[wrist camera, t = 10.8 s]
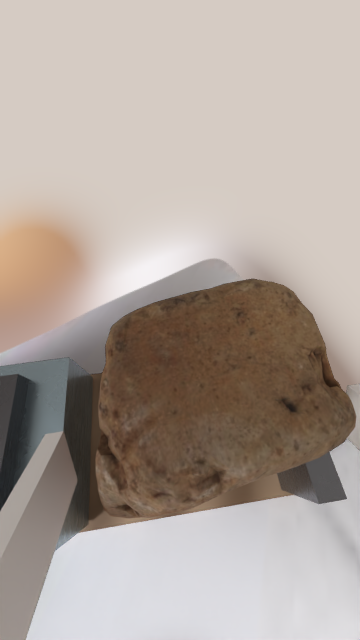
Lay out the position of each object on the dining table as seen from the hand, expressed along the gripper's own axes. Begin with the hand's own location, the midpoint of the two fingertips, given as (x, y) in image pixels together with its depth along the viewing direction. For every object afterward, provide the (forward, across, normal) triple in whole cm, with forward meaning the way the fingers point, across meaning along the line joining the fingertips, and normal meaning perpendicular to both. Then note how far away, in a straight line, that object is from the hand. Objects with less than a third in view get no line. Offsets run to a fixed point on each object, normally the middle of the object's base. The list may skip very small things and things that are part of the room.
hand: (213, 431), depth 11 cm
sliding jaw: (+12, -14, -9) cm, 21 cm away
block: (+12, -1, -10) cm, 15 cm away
